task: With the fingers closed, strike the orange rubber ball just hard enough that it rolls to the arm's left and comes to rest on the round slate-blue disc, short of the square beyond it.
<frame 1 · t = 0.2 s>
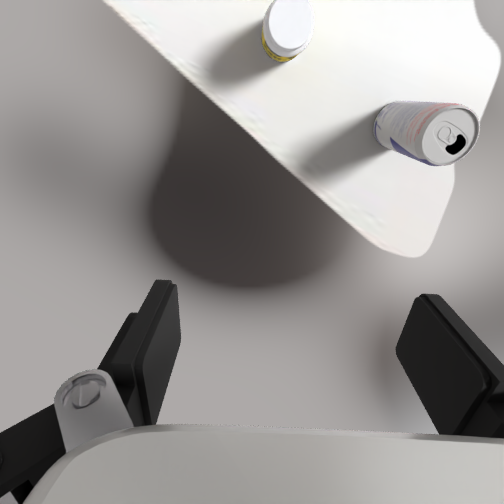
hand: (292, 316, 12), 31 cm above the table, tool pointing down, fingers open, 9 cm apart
supplement bottle: (282, 37, 33), on the table
energy drink: (393, 124, 37), on the table
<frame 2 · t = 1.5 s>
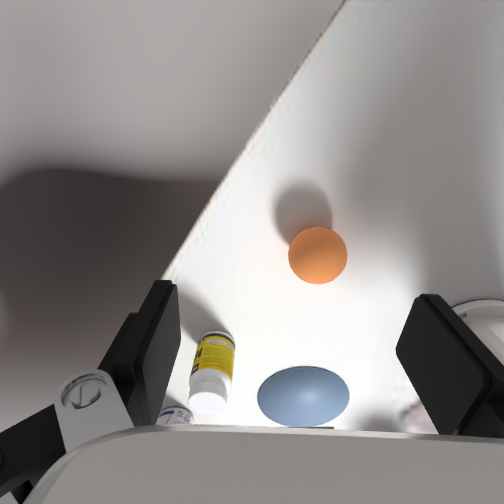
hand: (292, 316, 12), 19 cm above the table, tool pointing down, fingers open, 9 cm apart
supplement bottle: (217, 342, 38), on the table
ball: (317, 255, 28), on the table
energy drink: (177, 415, 45), on the table
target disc: (303, 398, 42), on the table
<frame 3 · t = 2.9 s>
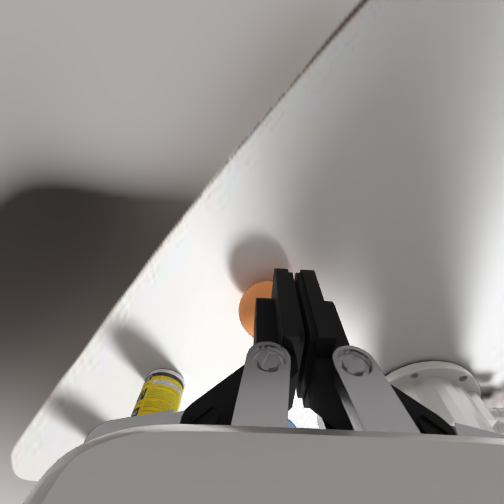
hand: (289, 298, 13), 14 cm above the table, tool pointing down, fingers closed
supplement bottle: (166, 379, 36), on the table
ball: (268, 310, 27), on the table
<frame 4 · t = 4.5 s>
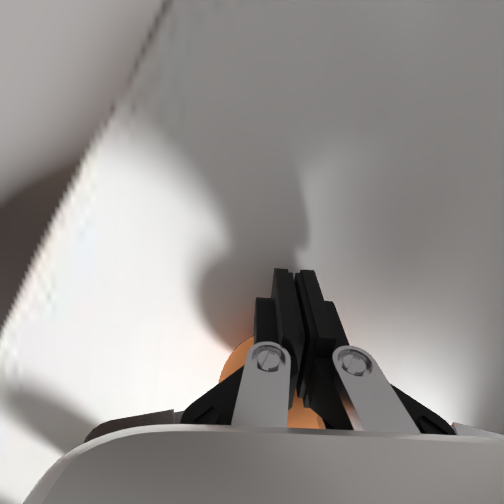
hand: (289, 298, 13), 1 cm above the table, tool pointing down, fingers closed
ball: (277, 392, 13), on the table
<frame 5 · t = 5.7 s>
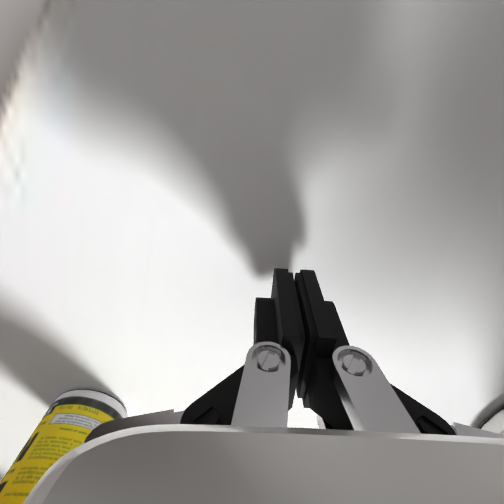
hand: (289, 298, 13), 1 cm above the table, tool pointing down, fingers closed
supplement bottle: (94, 408, 19), on the table
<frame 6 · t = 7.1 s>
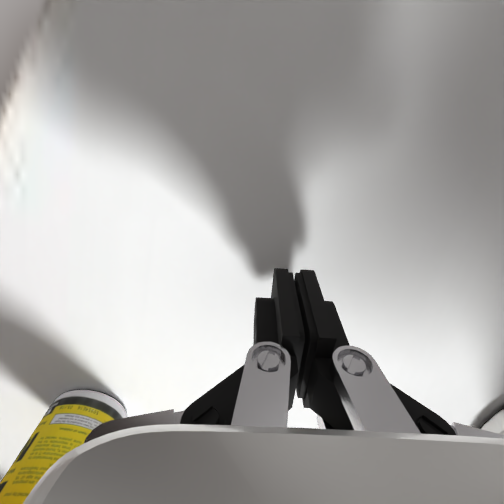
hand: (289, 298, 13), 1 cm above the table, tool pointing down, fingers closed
supplement bottle: (94, 408, 19), on the table
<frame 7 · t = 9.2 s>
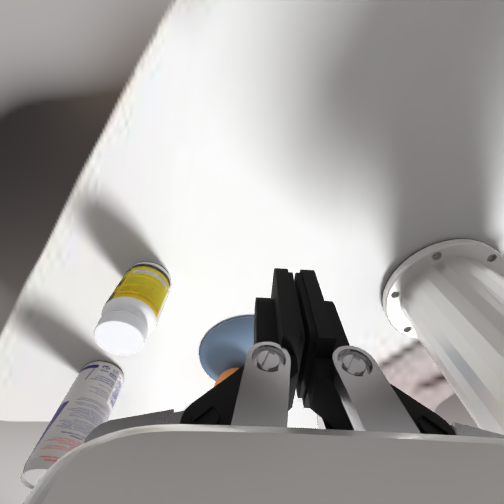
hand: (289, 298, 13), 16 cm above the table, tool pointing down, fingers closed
supplement bottle: (150, 278, 31), on the table
energy drink: (104, 372, 38), on the table
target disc: (252, 356, 37), on the table
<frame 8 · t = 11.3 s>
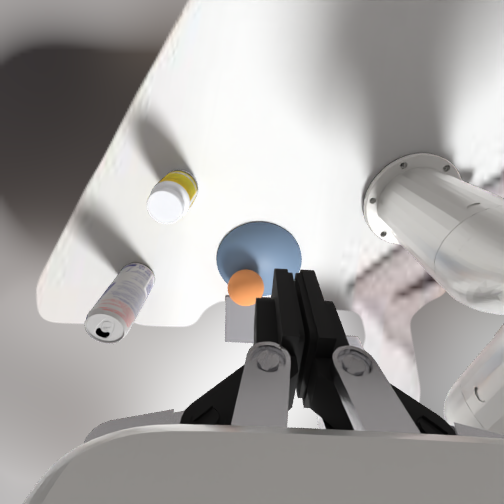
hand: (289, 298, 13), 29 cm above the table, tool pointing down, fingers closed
supplement bottle: (181, 186, 40), on the table
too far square: (254, 320, 51), on the table
ball: (245, 287, 44), resting on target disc
energy drink: (139, 275, 47), on the table
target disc: (259, 261, 45), on the table
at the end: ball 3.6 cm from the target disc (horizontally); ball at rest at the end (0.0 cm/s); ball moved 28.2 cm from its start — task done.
